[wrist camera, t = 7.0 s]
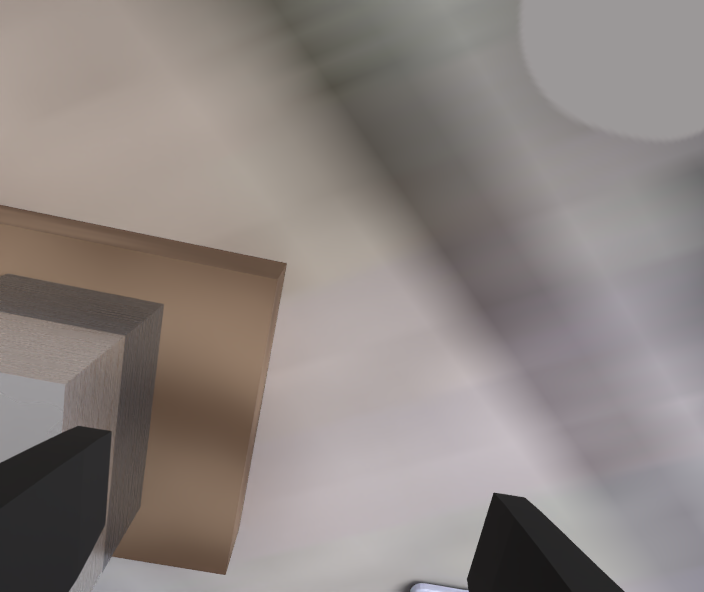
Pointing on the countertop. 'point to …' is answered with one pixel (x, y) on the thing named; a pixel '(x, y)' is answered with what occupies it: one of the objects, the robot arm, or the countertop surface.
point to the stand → (175, 369)
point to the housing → (80, 385)
